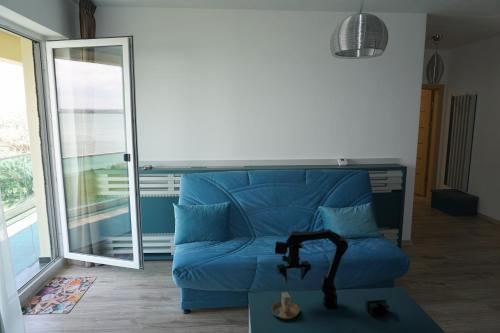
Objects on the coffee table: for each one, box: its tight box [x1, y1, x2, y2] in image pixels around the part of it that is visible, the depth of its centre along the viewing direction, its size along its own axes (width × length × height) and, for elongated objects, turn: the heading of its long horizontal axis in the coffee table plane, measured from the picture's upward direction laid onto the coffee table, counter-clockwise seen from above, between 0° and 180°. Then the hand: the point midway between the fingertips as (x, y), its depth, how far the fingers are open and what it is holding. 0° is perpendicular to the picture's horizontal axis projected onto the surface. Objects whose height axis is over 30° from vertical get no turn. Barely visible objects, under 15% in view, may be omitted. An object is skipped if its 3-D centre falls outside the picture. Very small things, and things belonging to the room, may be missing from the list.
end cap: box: [364, 298, 390, 318], centre depth 174 cm, size 10×7×7 cm
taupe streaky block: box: [280, 291, 291, 312], centre depth 174 cm, size 3×5×8 cm, turn 14°
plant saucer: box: [271, 301, 301, 320], centre depth 175 cm, size 15×15×3 cm
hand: (293, 281), depth 184 cm, fingers open, 9 cm apart
